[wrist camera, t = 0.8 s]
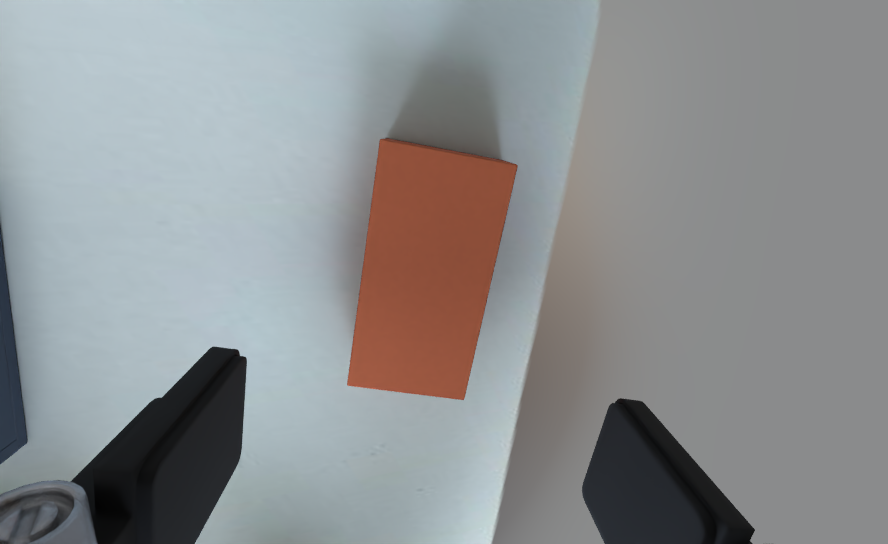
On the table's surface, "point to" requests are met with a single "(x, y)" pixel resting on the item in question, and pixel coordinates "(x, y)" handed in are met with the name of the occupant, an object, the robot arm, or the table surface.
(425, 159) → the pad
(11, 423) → the pad frame
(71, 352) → the table surface
